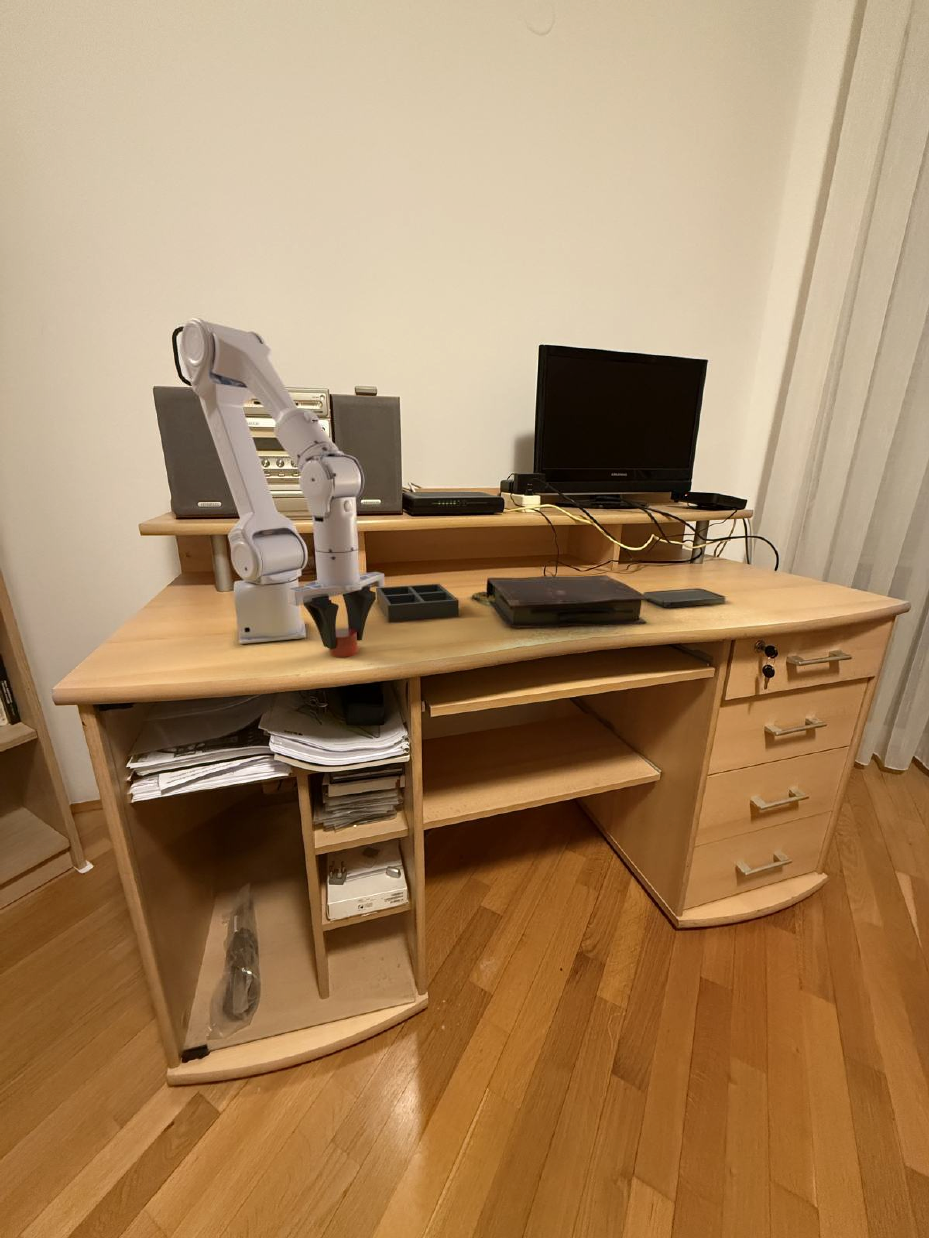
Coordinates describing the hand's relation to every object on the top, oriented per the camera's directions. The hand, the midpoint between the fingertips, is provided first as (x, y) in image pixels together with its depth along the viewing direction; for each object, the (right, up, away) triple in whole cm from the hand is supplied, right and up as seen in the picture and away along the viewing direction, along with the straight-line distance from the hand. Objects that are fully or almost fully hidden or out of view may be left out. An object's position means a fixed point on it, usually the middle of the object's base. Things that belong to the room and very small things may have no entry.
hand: (342, 643), depth 70 cm
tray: (+8, +5, +21) cm, 23 cm away
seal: (+26, +7, +28) cm, 39 cm away
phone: (+63, +7, +30) cm, 70 cm away
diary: (+36, +5, +21) cm, 42 cm away
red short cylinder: (0, -1, +1) cm, 1 cm away
